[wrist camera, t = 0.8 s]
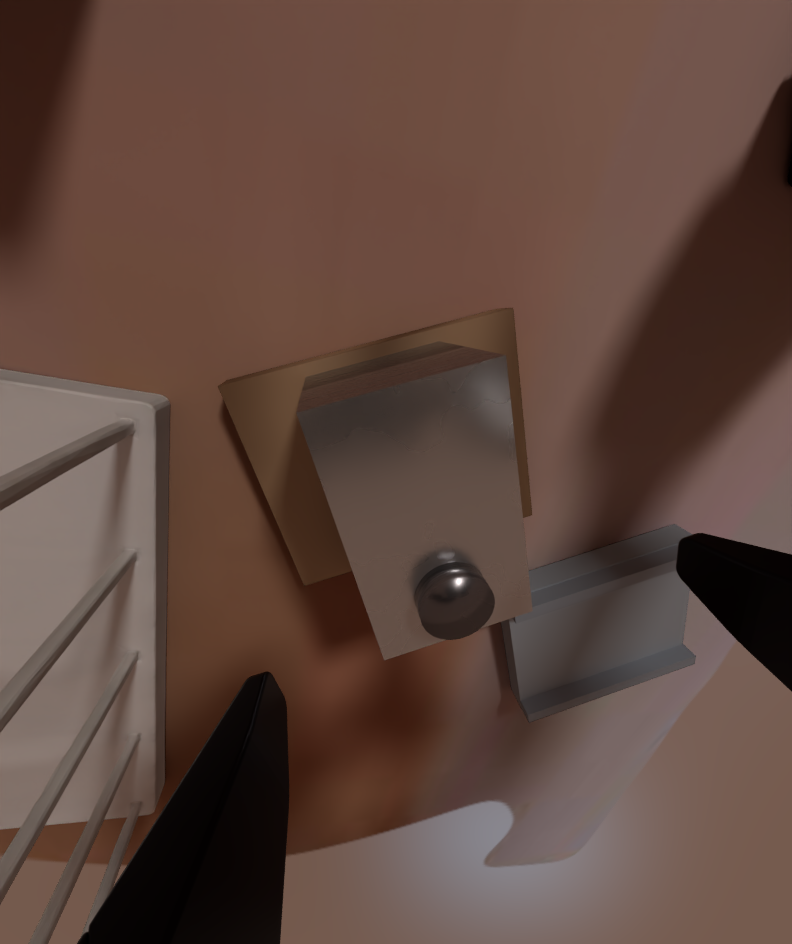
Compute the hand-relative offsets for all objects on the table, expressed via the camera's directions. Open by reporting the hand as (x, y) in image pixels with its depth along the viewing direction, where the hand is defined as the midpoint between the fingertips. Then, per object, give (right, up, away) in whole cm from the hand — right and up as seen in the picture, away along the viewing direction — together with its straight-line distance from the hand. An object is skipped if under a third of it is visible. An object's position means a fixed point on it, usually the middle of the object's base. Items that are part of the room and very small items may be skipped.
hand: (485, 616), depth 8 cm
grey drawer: (-2, +4, +9) cm, 10 cm away
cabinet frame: (+11, -6, +17) cm, 21 cm away
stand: (-2, +4, +10) cm, 11 cm away
